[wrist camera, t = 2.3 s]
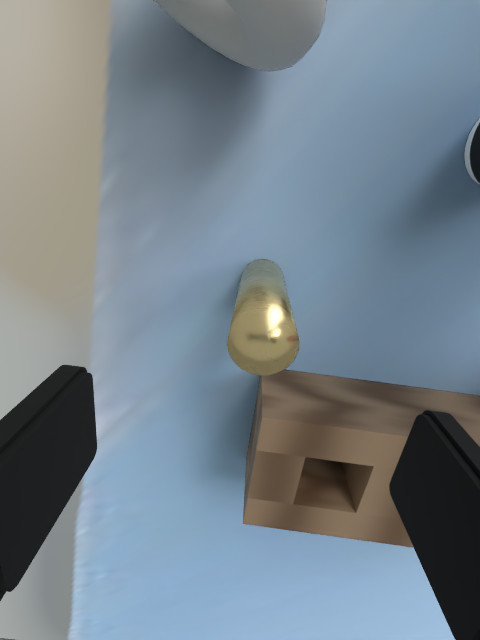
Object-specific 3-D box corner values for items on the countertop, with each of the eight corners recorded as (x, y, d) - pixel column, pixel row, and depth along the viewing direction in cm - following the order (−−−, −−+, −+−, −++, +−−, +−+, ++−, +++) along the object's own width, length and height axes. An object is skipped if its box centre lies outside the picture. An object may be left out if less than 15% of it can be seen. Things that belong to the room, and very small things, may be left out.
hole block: (246, 459, 29) (242, 523, 24) (262, 366, 25) (262, 417, 20) (485, 492, 29) (538, 564, 23) (538, 403, 25) (617, 465, 20)
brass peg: (243, 256, 22) (231, 307, 13) (286, 262, 22) (305, 316, 13) (238, 297, 23) (224, 370, 14) (279, 302, 23) (291, 379, 14)
